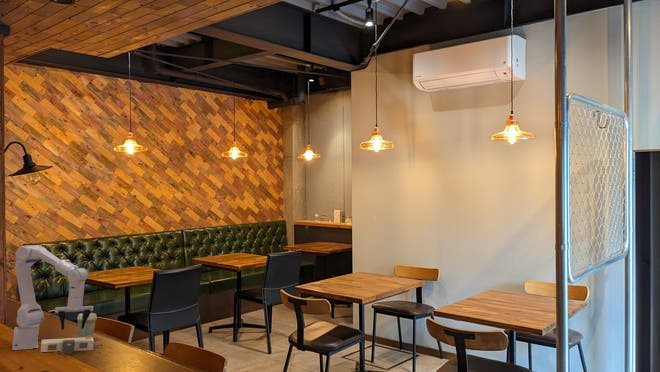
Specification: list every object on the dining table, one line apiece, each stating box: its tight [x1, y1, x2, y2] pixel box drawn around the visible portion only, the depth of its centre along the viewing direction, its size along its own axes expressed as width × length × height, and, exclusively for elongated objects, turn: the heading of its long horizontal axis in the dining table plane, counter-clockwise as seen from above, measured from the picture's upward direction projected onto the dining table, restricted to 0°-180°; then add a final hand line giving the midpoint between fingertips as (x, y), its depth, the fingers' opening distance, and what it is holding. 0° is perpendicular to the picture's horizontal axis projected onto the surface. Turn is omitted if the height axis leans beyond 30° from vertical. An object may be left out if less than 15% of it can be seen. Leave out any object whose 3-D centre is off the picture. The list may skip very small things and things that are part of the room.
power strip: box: [40, 337, 103, 353], centre depth 216 cm, size 24×7×4 cm, turn 120°
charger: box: [61, 340, 75, 355], centre depth 211 cm, size 4×6×5 cm
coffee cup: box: [76, 312, 98, 338], centre depth 232 cm, size 8×9×12 cm
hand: (72, 328), depth 212 cm, fingers open, 7 cm apart
